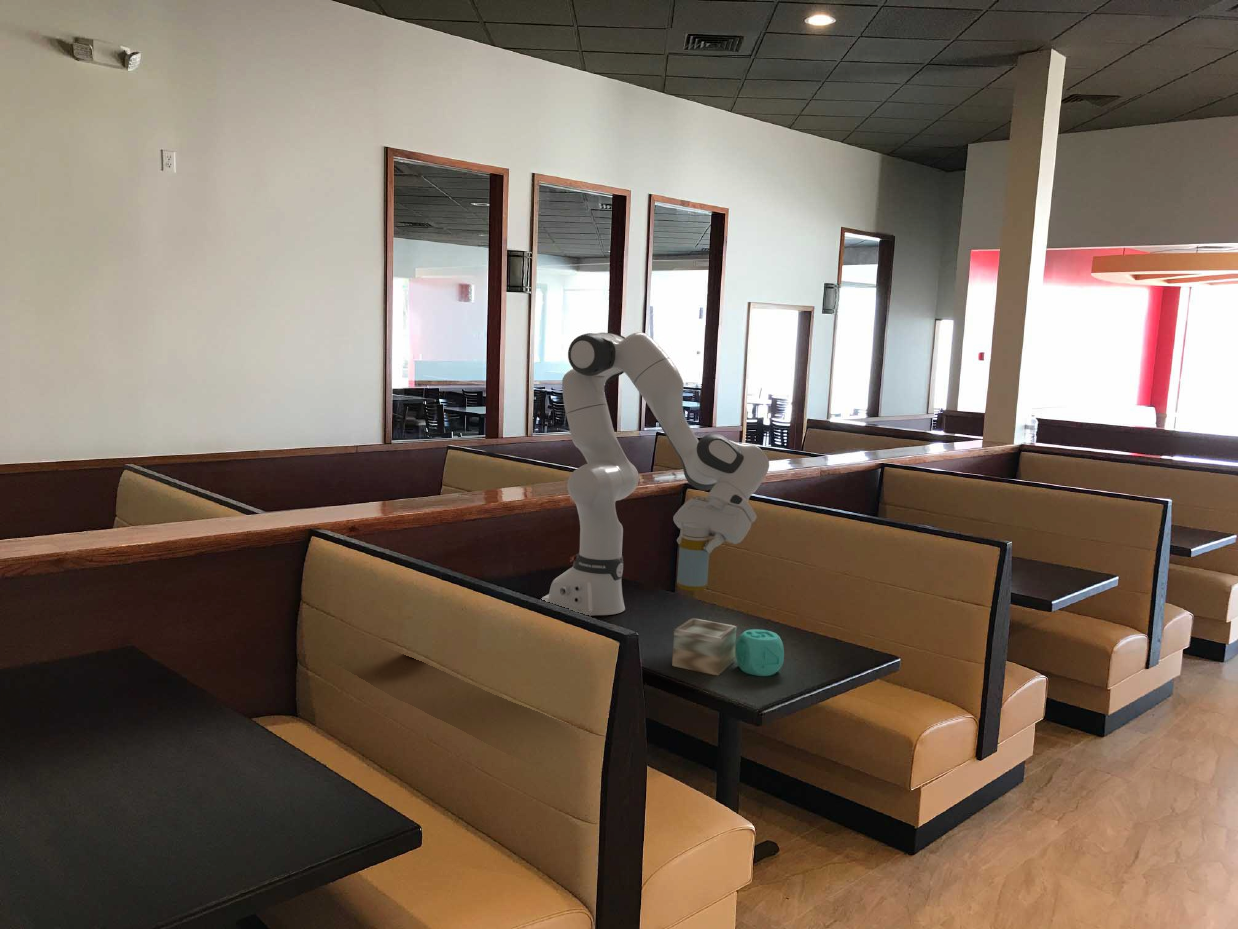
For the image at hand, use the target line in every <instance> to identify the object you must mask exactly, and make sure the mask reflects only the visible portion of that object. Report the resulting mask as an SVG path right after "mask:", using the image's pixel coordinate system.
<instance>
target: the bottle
mask: <svg viewBox="0 0 1238 929" xmlns="http://www.w3.org/2000/svg"><path fill="white" fill-rule="evenodd" d="M682 533H683V534H682V539H681V542H680V544H679V549H678V551H679V552H678V563H677V564H678V566H677V575H676V576H677V578H676V585H677V587H678V588H679V589H680V590H684V591H689V592H701V591H704V590H706V588H707V586H708V576H709V575H708V574H709V563H710V562H709V560H710V553H707V552H705V551H704V550H703V546H704V545H705V543H706V542H708V543H709V542H710V541H709V539H710V537H709V536H708V535H709V526H705V525H701V524H697V523H696V522H687V523H684V524H683V530H682Z"/></svg>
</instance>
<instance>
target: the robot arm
mask: <svg viewBox="0 0 1238 929" xmlns="http://www.w3.org/2000/svg"><path fill="white" fill-rule="evenodd" d="M567 350H568V352H567V360H568V362H569V364H570V367H571V368H572V369H570V370H568V371H567V372H566V373H565V374H564V375H563V377H562V379H561V380H562V381H561V386H562V387H561V388H562V397H563V398H562V400H563V406H564V410H565V414H566V415H565V416H566V419H567V423H568V428H569V431H570V432H569V433H570V435H571V436H570V437H571V441H572V443H573V444H574V446H575V448H577V449H578V450H579V451H580V452H581V453H582V456H583V457H584V459H585V461H586V463H585V464H583V465H581V466H579V467H578V468H576V469H575V470H573V471H572V473H571V474H570V475H569V477H568V479H567V484H566V485H567V486H566V487H567V492H568V495H569V497H570V499H572V501H573V502H574V504H575V505H576V509H577V514H578V520H579V526H580V527H579V528H580V529H579V530H580V531H579V552H578V553H576V554H574V555H573V556H571V557H570V560H569V562H573V564H572V567H570V568H568V569H567V570H566V571H564V572H563V573H562V574H560V575H559V576H557V577H556V578H554V579H553V580H552V582H551V584H550V589H549V593H548V594H546V595H545V596H542V598H541V599H542V600H545V601H546V602H550V603H553V604H556V605H559V606H562V607H565V608H569V610H573V611H575V612H579V613H583V614H585V615H589V616H590V617H591V616H609V615H616V614H620V613H622V612H624V611H625V610H626V607H625V602H624V597H623V586H622V579H623V578H622V577H623V573H624V572H623V571H624V555H622V554H623V553H622V552H623V536H624V528H623V524H622V523H621V522H620V521H619V518H618V515H617V509H616V502H617V501H621V500H624V499H626V498H627V497H628V496H630V495H631V494H632V493H634V492H635V491H636V489H637V488H638V485H639V482H640V481H639V480H640V476H639V471H638V470H637V468H636V466H635V465H634V464H633V463H631V461H630V460H629V459H628V458H627V456H626V454H625V452H624V450H623V448H622V446H621V444H620V442H619V440H618V438H617V435H616V433H615V429H614V427H613V422H612V418H611V414H610V410H609V405H608V402H607V397H606V394H605V384H606V383H607V382H612V381H614V380H615V379H617V378H618V377H619V376H621V375H622V374H625V375H626V376H627V377H628V379H630V381H631V383H632V384H633V385H634V386H635V388H636V390H637V391H638V393H639V394H640V395H641V397H642V398H643V400H644V402H646V404H647V406H648V407H649V408H650V411H651V412H652V414H653V416H654V418H655V419H656V421H657V423H658V425H659V426H660V427H661V430H662V431H663V434H665V436H666V438H667V440H668V441H669V442H670V444H671V446H672V448H673V449H674V451H675V452H676V454H677V456H678V458H679V460H680V462H681V465H682V470H683V475H684V478H685V480H686V481H687V483H688V484H689V485H690V486H692V487H693V488H694V489H697V490H700V491H709V492H708V494H707V495H706V496H705V497H702V496H695V497H693V498H690V499H688V500H687V501H685V502H684V503H683V505H681V507H680V508H679V509H678V510H677V512H675V514H674V515H673V522H674V524H675V525H676V526H677V528H678V529H679V530H680V532H679V536H678V537H677V539H676V542H677V544H678V545H680V542H681V539H682V534H683V533H682V530H683V524H684V523H687V522H696V523H697V524H701V525H705V526H709V535H708V536H709V538H713V539H712V540H710V541H709V543H708V542H706V543H705V545H704V546H703V550H704V551H705V552H707V553H709V554H711V553H712V552H713V550H714V549H716V548H717V547H718V546H719V547H720V546H721V545H722V544H723V543H724V542H727V543H731V544H734V545H737V544H739V543H741V542H742V541H743V540H744V538H745V537H746V536H747V534H748V533H749V531H750V530H751V527H752V524H753V523H754V522H756V520H757V517H758V516H757V515H756V514H757V513H756V512H755V511H754V509H753V507H752V506H751V504H750V503H749V501H750V497H751V496H752V495H753V494H754V493H756V491H758V488H759V487H760V486H761V484H762V483H763V481H764V480H765V477H766V476H767V474H768V471H769V469H770V461H769V458H768V456H767V454H766V452H764V450H762V449H763V448H762V449H761V447H759V446H757V445H755V444H752V443H749V444H745V443H739V442H735V441H733V440H730V439H728V438H727V437H726V436H723V435H722V434H719V433H709V434H705V435H704V436H702V437H701V438H700V439H698V438H697V436H696V435H695V433H694V431H693V429H692V428H691V426H690V424H689V422H688V421H687V419H686V417H685V413H684V407H683V406H684V405H683V403H684V400H683V397H684V381H683V378H682V376H681V374H680V371H679V369H678V368H677V367H676V365H675V363H674V362H673V361H672V359H671V358H670V357H669V355H668V354H667V353H666V352H665V350H664V349H663V348H662V347H661V346H660V345H659V343H657V342H656V340H654V339H653V338H652V337H651V336H650V335H649V334H647V333H645V332H640V331H638V332H634V333H633V332H632V333H631V334H629V335H627V336H626V337H625V336H623V335H620V334H618V333H610V332H609V333H608V332H597V333H596V332H595V333H592V332H590V333H588V332H587V333H584V334H581V335H579V336H577V337H576V338H574V339H573V340H572V342H571V343H570V344H569V347H568V349H567ZM589 616H588V617H589Z"/></svg>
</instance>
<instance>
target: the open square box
mask: <svg viewBox="0 0 1238 929" xmlns="http://www.w3.org/2000/svg"><path fill="white" fill-rule="evenodd" d="M737 627H738V626H737V625H733V624H727V623H723V622H715V621H711V620H706V619H701V618H700V619H699V618H697V617H696V618H695V617H691V618H689V619H688V620H687V621H685V622H684V623H682V624H680V625H679V626H677V627H676V628H674V629H673V630H674V631H673V644H672V646H673V647H672V648H673V649H672V661H671V664H672V665H671V666H673V667H676V668H682V669H685V670H690V671H695V672H699V673H704V674H709V675H713V676H719V675H720V674H722V673H723V672H724V671H725V670H726V669H727V668H729V667H730V666H731V665H732V664H733V663H734V662H735V656H736V643H737V641H736V639H737Z"/></svg>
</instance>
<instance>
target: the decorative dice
mask: <svg viewBox="0 0 1238 929" xmlns="http://www.w3.org/2000/svg"><path fill="white" fill-rule="evenodd" d="M784 649H785V648H784V643H783V641H782V639H781V637H780V635H778V634H777V633H776V632H773V631H770V630H766V629H757V628H753V629H748V630H745V631H743V632H742V633H741V634H740V635H739V636H738V638H737V641H736V642H735V656H736V661H737V665H738V667H739V669H740V670H741V671H742V672H743V673H746V674H748V675H752V676H757V677H768V676H769V677H770V676H773V675H775V674H776V673H777V672H779V671H780V670H781V668H782V666H783V664H784V660H785V659H784V658H785V650H784Z"/></svg>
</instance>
